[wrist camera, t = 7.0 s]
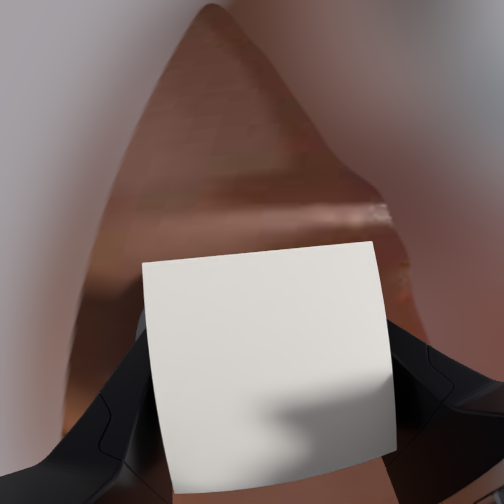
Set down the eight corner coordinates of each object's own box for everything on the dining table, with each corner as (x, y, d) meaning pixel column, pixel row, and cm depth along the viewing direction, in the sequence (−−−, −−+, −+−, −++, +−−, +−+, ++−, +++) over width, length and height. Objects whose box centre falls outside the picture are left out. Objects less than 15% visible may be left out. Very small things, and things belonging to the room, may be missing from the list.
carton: (297, 389, 15) (397, 450, 6) (200, 402, 15) (174, 494, 5) (285, 296, 16) (372, 240, 7) (188, 306, 16) (141, 262, 6)
